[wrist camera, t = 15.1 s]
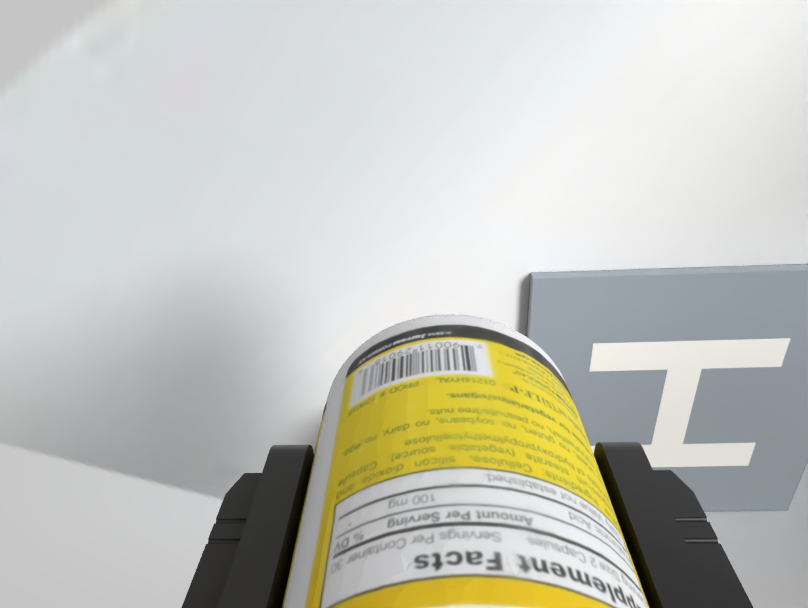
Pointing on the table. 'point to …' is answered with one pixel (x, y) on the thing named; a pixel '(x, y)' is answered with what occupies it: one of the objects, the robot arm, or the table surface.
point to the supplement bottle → (456, 481)
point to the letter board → (688, 371)
